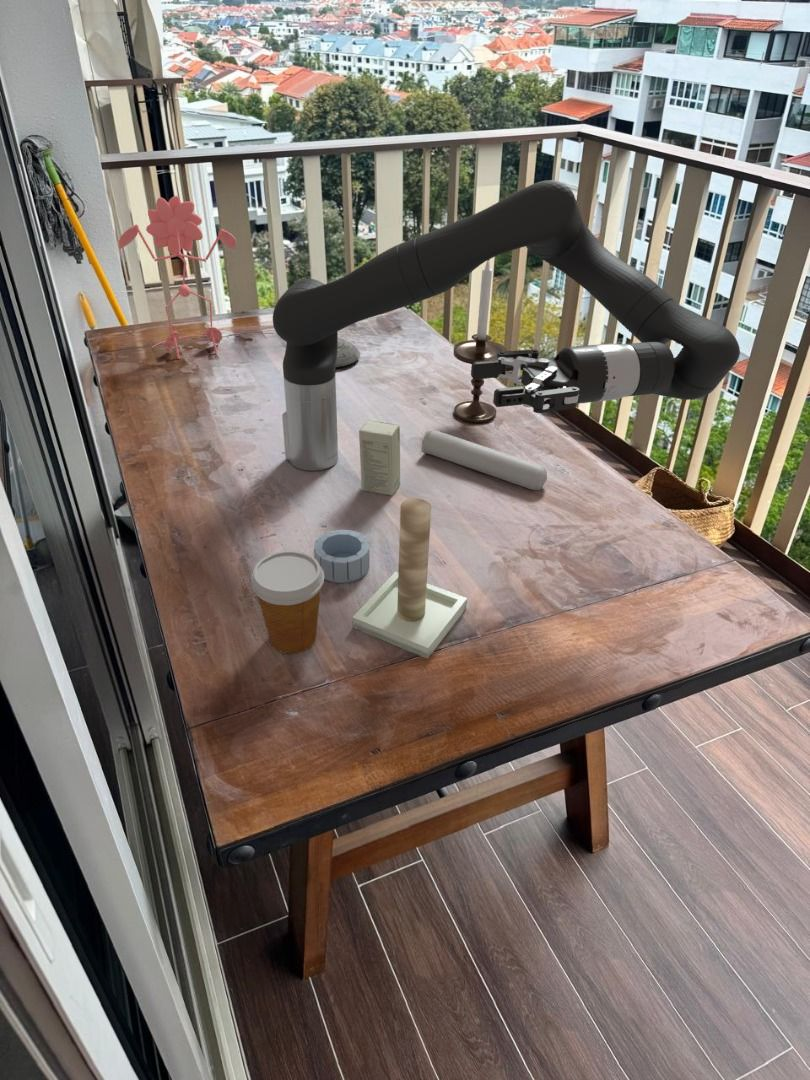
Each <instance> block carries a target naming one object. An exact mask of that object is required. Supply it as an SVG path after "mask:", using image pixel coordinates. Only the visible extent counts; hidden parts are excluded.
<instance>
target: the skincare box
mask: <svg viewBox="0 0 810 1080" xmlns="http://www.w3.org/2000/svg"><path fill="white" fill-rule="evenodd" d="M400 431H401V426H400V424H394V423H389V422H382V421H376V420H375V421H374V420H370V419H369V420H367V421H365V423H364V424H363V425H362V426H361V427H360V428H359V429H358V435H359V437H358V438H359V439H358V441H359V457H360V458H359V461H360V478H361V479H360V483H361V490H362V491H366V492H370V493H376V494H382V495H387V496H394V495H395V493H396V491H397V490H398V488H399V487H400V486H401V432H400Z"/></svg>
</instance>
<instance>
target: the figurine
mask: <svg viewBox="0 0 810 1080" xmlns="http://www.w3.org/2000/svg"><path fill="white" fill-rule="evenodd" d="M155 208H156V209H149V210H148V211H147V217H148V218H149V220H150V221H151V223H150V224H149V225H147V226H146V232H147V233H148V234H149V235H150V236H152V237H154V238H155V239H154V241H153V242H154V246H155V247H157V248H158V249H159V248H166V247H167V251H168V252H169V254H170V255H165V256H161V257H155V255H154V253H153V251H152V249H151V247H150V246H149V244H148V242H147V240H146V238H145V237H144V235H143V233H142V231H141V230H140V228H139V225H138V224H134V225H132V226H130V227H129V228H128V229H127V230H125V231H124V232H123V233H121V236H120V237H119V240H118V248H119V250H122V249H123V248H124V247H126V246H127V245H129V244H131V243H132V241H134V240H135V238H136V237H137V236H138V235H139V236H140V238H141V240H142V242H143V244H144V245H145V248H146V249H147V251H148V252H149V254H150V256H151V258H152V260H154V262H159V261H163V260H168V259H171V258H176V257H177V258H180V259H181V261H182V262H183V270H182V271H183V272H182V273H183V274H182V284H181V285H180V286H179V287H178V293H177V294H175V296H174V297H173V298H172V299H171V301H170V302H169V303H168V304H166V306H165V313H166V316H167V319H168V320H167V321H168V324H169V328H170V331H171V332H170V333H169V335H168V336H167V338H166V339H165V340H161V341H159V342H158V343H157V344H154V345H153V346H151V348H154V347H156V346H157V345H159V344H161V343H164V348H165V350H166V351H167V352H168V353H169V352H170V351H171V350H172V349H173V348H174V349H175V352H176V356H177V357H176V358H177V360H178V359H181V356H180V353H179V348H178V344H177V342H178V341H179V339H181V338H188V337H190V335H182V336H179V332H178V331H176V330H175V331H173V326H172V323H171V319H170V315H169V311H168V307H169V306H170V305H171V304H172V303H173V302H174V301H175V300H176V298H177V297H179V295H180V296H181V297H183V298H186V297H188V296H190V295H191V294H192V295H195V296H197V297H198V298H201V299H203V300H206V301H208V302H209V320H210V327H207V328H206V329H205V334H203V335H202V334H198V335H196V334H195V335H193V337H199V336H200V337H202V336H203V337H206V338H207V339H208V340H209V341H210V342H212V343H213V345H212V346H213V349H214V353H215V354H216V355H217V354H218V350H217V349H218V348H217V346H216V345H219V344H220V343H221V341H222V339H223V333H222V331H221V330H220V329H218V328H217V327H215V326H213V317H212V316H213V315H212V313H213V311H212V301H211V299H209V298H207V297H204V296H202V295H200V294H197V292H193V291H191V289H190V287H189V286H188V285H186V284H185V283H186V282H185V280H186V271H187V261H186V260H185V258H187V259H192V260H196V261H201V262H204V263H207V261H208V259H209V257H210V256H211V254H212V253H213V250H214V249H215V247H216V245H217V244H218V242H219V241H221V243H222V244H224V245H225V246H227V247H229V248H230V249H233V250H234V249H235V248H236V246H237V239H236V237H235V236H234V235H233V234H232V233H230V232H229V231H227V230H224V228H221V229H220V230H219V231H217V237H216V239H215V241H214V242H213V244H212V245H211V247H210V249H209V251H208V253H207V255H206V256H205V258H202V257H199V256H198V257H197V256H193V255H187V254H183V253H182V251H181V250H183V251H185V252H188V253H189V252H191V251H192V250H193V247H194V246H193V245H194V244H193V243H194V241H201V240H202V239H203V232H202V230H201V229H200V227H199V226H200V225H201V224H202V223H203V220H202V218H201V217H200V216H199V215H198V214H197V213H193V212H194V210H195V204H194V202H192V201H189V200H188V201H186V200H185V201H182V202H181V198H180V196H178V195H175V196H172V197H170V199H169V200H168V201H167V200H166V199H165V198H163V197H158V198H157V199H156V203H155Z"/></svg>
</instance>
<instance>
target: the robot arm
mask: <svg viewBox="0 0 810 1080" xmlns="http://www.w3.org/2000/svg"><path fill="white" fill-rule="evenodd" d="M525 247H526V249H528V251H529V252H530V253H532V254H533V255H535V256H536V257H538V258H540V259H541V260H543V261H544V262H546V263H548V264H550V265H551V266H552V267H553V268H556V270H559V271H560V272H561V273H563V274H565V275H567V276H568V277H569V278H571V279H572V280H573V281H575V282H576V283H577V284H578V285H580V286H581V287H582V288H583V289H584V290H585V291H587V292H588V293H589V294H590V295H591V296H592V297H593V298H594V299H595V300H596V301H597V302H598V303H600V304H601V306H603V308H604V309H605V310H606V311H608V313H610V314H611V315H612V316H613V318H615V320H617V321H618V322H619V323H620V324H621V325H622V326H623V327H624V328H625V329H626V330H627V331H628V332H629V333H631V335H633V337H635V338H636V339H637V340H638V341H639V342H635V343H601V344H589V345H579V346H566V347H563V348H561V350H559V351H558V354H557V355H555V357H554V358H553V359H548V358H543V357H539V356H540V350H538V349H522V350H521V349H520V350H507V351H502V352H498V354H497V360H493V361H482V362H474V363H473V364H471V366H470V367H471V368H470V376H471V378H473V379H475V380H476V379H484V380H486V379H487V380H488V379H495V378H503V379H508V380H511V381H512V383H513V384H517V385H520V386H512V387H504V388H503V387H500V388H497V389H495V390H494V392H493V398H492V399H493V400H492V403H493V404H494V407H496V408H504V407H505V408H506V407H513V406H523V407H525V408H532V411H533V413H535V414H542V413H543V414H544V413H551V412H557V411H564V410H572V409H576V408H577V405H578V404H587V403H597V402H606V401H613V400H618V399H622V398H627V397H635V396H643V395H651V394H652V395H658V396H662V397H667V398H674V399H677V400H678V399H679V400H685V401H691V400H696V399H697V400H698V399H701V398H703V397H706V396H708V395H709V394H710V393H712V392H713V391H714V390H715V389H716V388H717V387H718V386H719V384H720V383H721V382H722V381H723V380H724V378H725V377H726V376H727V375H728V374H729V372H730V371H731V370H732V369H733V367H734V366H735V365H736V364H737V362H738V360H739V359H740V356H741V355H740V354H741V350H740V349H741V348H740V345H739V342H738V340H737V338H736V337H735V334H733V332H731V330H730V329H728V328H727V327H725V326H724V325H722V324H720V323H718V322H715V321H713V320H711V319H709V318H708V317H705V316H703V315H701V314H699V313H697V312H695V311H692V310H691V309H689V308H686V307H685V306H683V305H680V304H679V303H678V302H677V301H676V300H675V299H674V298H673V297H672V296H670V295H669V294H668V293H667V292H666V291H665V290H664V289H663V288H662V287H661V286H659V284H657V283H656V282H655V281H654V280H653V279H651V277H649V276H648V275H646V274H644V273H643V272H641V271H640V270H638V269H636V268H635V267H634V266H631V265H630V264H628V263H626V262H624V261H623V260H622V259H620V258H618V257H617V256H615V255H614V254H613V253H612V252H610V251H609V250H608V249H607V248H606V247H605V246H604V245H603V244H602V243H601V242H600V241H599V240H598V239H597V238H596V237H595V235H594V233H592V231H591V230H590V229H589V226H587V224H586V223H585V222H584V221H583V217H582V213H581V211H580V208H579V204H578V201H577V199H576V196H575V194H574V192H573V190H572V189H571V188H570V187H569V186H568V185H567V184H566V183H564V182H561V181H559V180H553V179H550V180H549V179H548V180H546V179H545V180H542V181H538V182H535V183H533V184H530V185H528V186H526V187H524V188H523V189H520V190H519V191H516V192H514V193H513V194H511V195H508V196H507V197H505V198H503V199H501V200H499V201H498V202H496V203H494V204H491V206H488V207H486V208H485V209H482V210H481V211H479V212H476V213H474V214H472V215H471V214H470V216H466V217H464V218H462V219H459V220H456V221H453V222H451V223H449V224H446V225H445V226H442V227H439V228H437V229H435V230H432V231H429V232H427V233H424V234H421V235H418V236H416V237H413V238H410V239H408V240H406V241H404V242H401V243H398V244H396V245H394V246H392V247H390V248H388V249H386V250H384V251H383V252H381V253H379V254H378V255H376V256H374V257H373V258H371V259H369V260H368V261H366V262H365V263H363V264H362V265H361V266H358V267H357V268H355V269H354V270H352V271H351V272H348V274H346V275H345V276H342V277H340V278H338V279H336V280H333V281H331V282H326V283H325V284H324V282H321V281H320V280H318V279H314V278H303V279H300V280H298V281H296V282H294V283H292V285H291V286H289V287H288V289H286V291H285V292H284V293H283V294H282V295H281V296H280V297H279V299H278V300H277V302H276V304H275V306H274V309H273V314H272V324H273V329H274V331H275V333H276V334H277V335H278V337H280V339H282V341H285V343H286V346H285V353H284V356H283V360H282V372H283V386H284V387H283V388H284V398H285V411H284V412H283V413H282V416H281V417H282V418H281V419H282V430H283V441H284V443H283V445H284V455H285V460H287V461H289V462H290V463H291V465H293V467H295V468H296V469H300V470H303V471H309V472H310V471H311V472H312V471H315V472H317V471H323V470H327V469H329V468H331V467H333V466H335V464H337V462H338V460H339V446H338V445H339V444H338V442H339V441H338V436H339V435H338V411H337V410H338V409H337V387H336V385H337V383H336V379H337V378H336V367H335V365H336V359H337V350H338V338H339V337H338V336H339V333H338V332H339V331H341V330H343V329H345V328H348V327H349V326H351V325H354V324H356V323H358V322H361V321H363V320H366V319H369V318H370V319H371V318H373V317H377V316H380V315H383V314H387V313H389V312H392V311H395V310H398V309H401V308H404V307H407V306H411V305H413V304H416V303H419V302H422V301H425V300H427V299H429V298H433V297H435V296H438V295H440V294H443V293H445V292H447V291H449V290H450V289H452V288H454V287H455V286H456V285H458V284H459V283H460V282H462V281H463V280H464V279H465V278H467V276H469V275H470V274H472V272H473V271H474V270H476V269H477V268H479V267H480V266H482V265H483V264H484V263H485V262H487V260H489V259H490V260H491V259H493V258H495V257H498V256H500V255H503V254H505V253H508V252H511V251H515V250H519V249H522V248H525ZM490 260H489V261H490ZM670 341H672V342H676V343H677V344H680V345H681V346H682V348H681V349H680V351H679V352H678V353H677V355H676V357H674V353H673V351H672V349H670V348H669V346H668V345H666V344H667V343H669V342H670ZM521 371H522V373H521ZM522 385H523V386H522ZM524 386H525V388H524ZM547 400H549V403H546V404H544V403H545V402H546V401H547Z"/></svg>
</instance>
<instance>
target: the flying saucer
mask: <svg viewBox="0 0 810 1080" xmlns="http://www.w3.org/2000/svg"><path fill="white" fill-rule="evenodd" d="M360 357H361V352H360V350H359V349H358V348H357V346H356V345H354V344H353V342H351V341H348V340H347V339H344V338H340V337H338V350H337V359H336V365H335V368H340V367H342V368H343V367H345V366H348V365H351V364H353V363H355V362H357V361H358V360H359V359H360Z"/></svg>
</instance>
